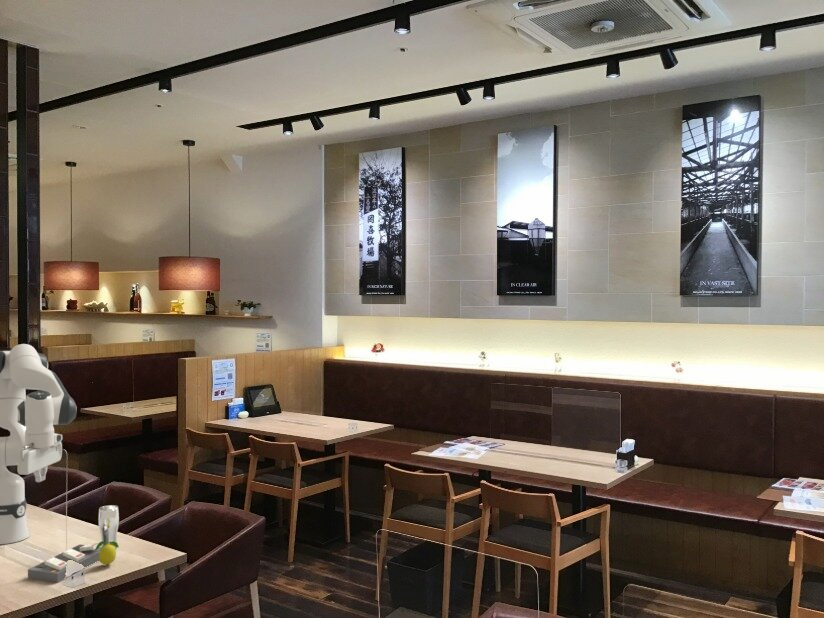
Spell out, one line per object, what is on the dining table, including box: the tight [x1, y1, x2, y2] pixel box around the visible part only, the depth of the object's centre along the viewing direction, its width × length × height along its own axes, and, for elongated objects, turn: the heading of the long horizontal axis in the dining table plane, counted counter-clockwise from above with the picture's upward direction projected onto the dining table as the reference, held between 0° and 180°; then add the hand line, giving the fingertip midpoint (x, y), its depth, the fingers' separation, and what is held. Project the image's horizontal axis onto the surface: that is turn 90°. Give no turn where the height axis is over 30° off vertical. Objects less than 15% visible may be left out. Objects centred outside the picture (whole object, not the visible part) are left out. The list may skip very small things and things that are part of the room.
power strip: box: [27, 544, 102, 584], centre depth 255 cm, size 12×24×3 cm, turn 163°
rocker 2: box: [62, 548, 85, 562], centre depth 254 cm, size 6×4×1 cm, turn 74°
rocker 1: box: [45, 556, 68, 570], centre depth 246 cm, size 6×4×1 cm, turn 74°
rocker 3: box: [80, 542, 100, 551], centre depth 262 cm, size 6×4×1 cm, turn 73°
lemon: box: [95, 537, 119, 566], centre depth 256 cm, size 7×6×10 cm
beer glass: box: [98, 504, 120, 550], centre depth 272 cm, size 7×7×15 cm
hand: (40, 481), depth 249 cm, fingers closed
